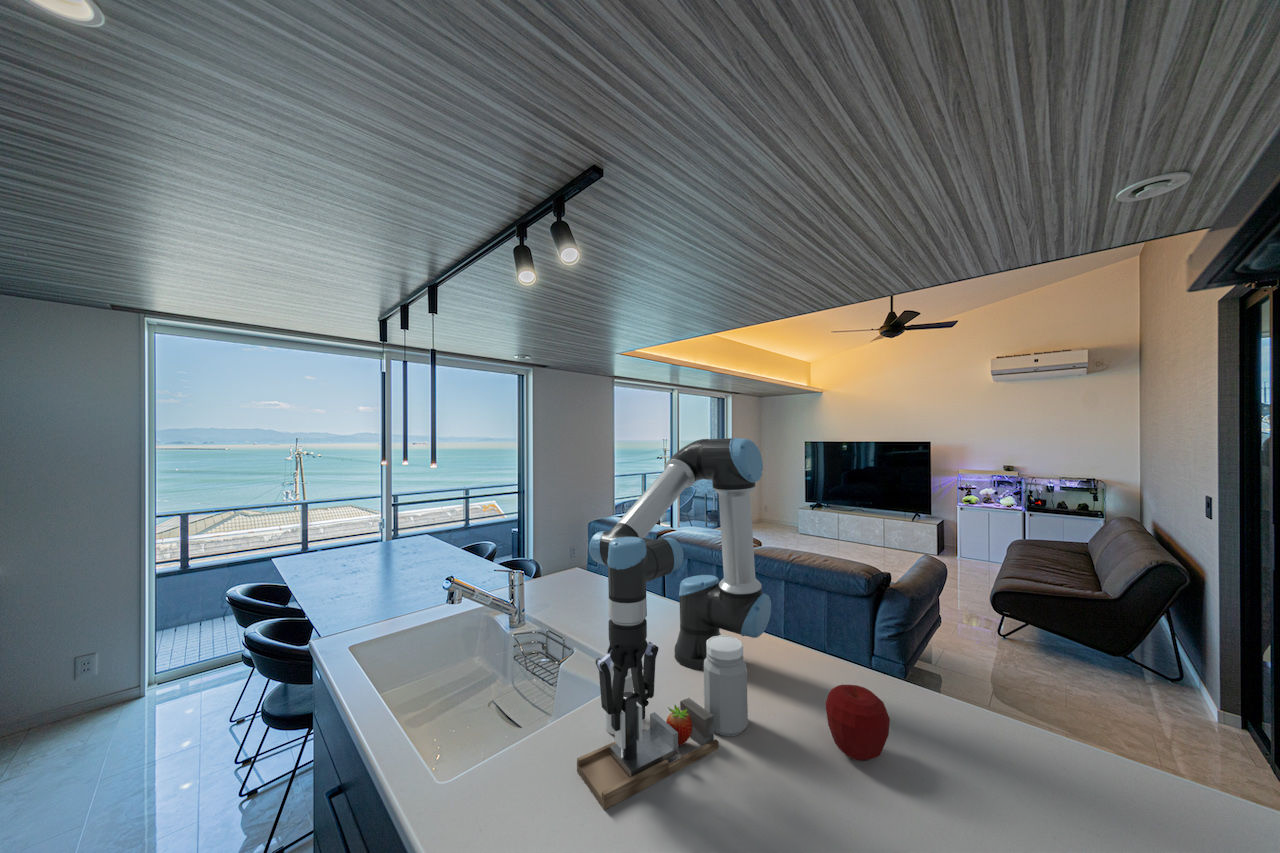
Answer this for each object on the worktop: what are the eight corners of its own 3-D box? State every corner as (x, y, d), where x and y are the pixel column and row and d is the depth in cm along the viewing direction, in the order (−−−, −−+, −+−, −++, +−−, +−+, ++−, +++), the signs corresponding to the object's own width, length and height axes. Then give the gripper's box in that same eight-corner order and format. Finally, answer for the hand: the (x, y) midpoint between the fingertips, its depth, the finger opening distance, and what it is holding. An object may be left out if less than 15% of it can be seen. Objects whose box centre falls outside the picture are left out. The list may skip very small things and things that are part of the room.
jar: (752, 717, 101) (750, 637, 102) (743, 743, 92) (741, 656, 93) (710, 707, 105) (709, 630, 106) (698, 731, 96) (697, 648, 97)
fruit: (688, 735, 95) (687, 697, 95) (695, 752, 90) (694, 712, 90) (664, 738, 94) (663, 700, 94) (670, 755, 89) (669, 715, 89)
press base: (685, 721, 100) (684, 694, 100) (718, 749, 91) (718, 719, 91) (576, 771, 85) (576, 739, 85) (604, 810, 76) (604, 774, 76)
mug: (627, 739, 94) (626, 682, 95) (598, 732, 96) (598, 676, 97) (643, 712, 104) (642, 660, 104) (617, 706, 106) (616, 656, 106)
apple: (864, 785, 81) (862, 711, 81) (813, 746, 91) (811, 681, 92) (904, 762, 86) (901, 693, 87) (851, 729, 97) (849, 667, 97)
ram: (654, 732, 94) (654, 673, 94) (678, 754, 87) (677, 691, 87) (609, 752, 87) (609, 690, 88) (631, 778, 81) (630, 710, 81)
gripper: (650, 604, 94) (651, 716, 93) (581, 621, 85) (582, 746, 84) (672, 615, 88) (673, 735, 87) (600, 635, 79) (601, 770, 78)
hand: (628, 740), depth 85 cm, fingers closed on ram, 3 cm apart
